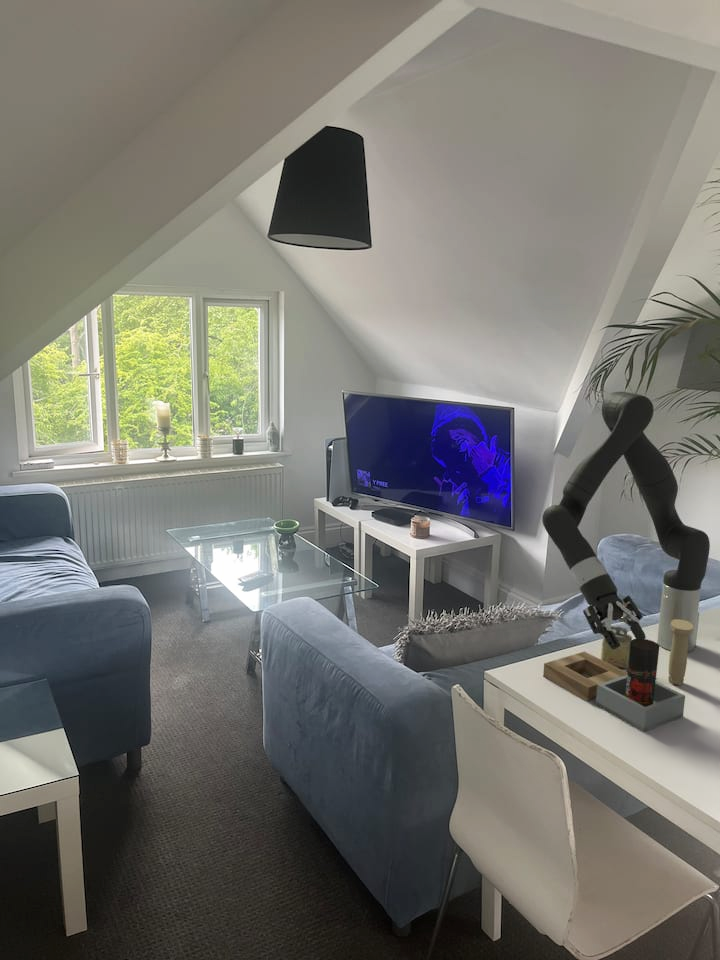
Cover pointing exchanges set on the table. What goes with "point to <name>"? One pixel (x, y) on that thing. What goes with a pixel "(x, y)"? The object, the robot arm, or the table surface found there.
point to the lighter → (620, 654)
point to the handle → (679, 650)
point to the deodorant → (642, 671)
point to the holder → (572, 666)
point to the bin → (644, 718)
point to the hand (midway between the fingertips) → (629, 644)
